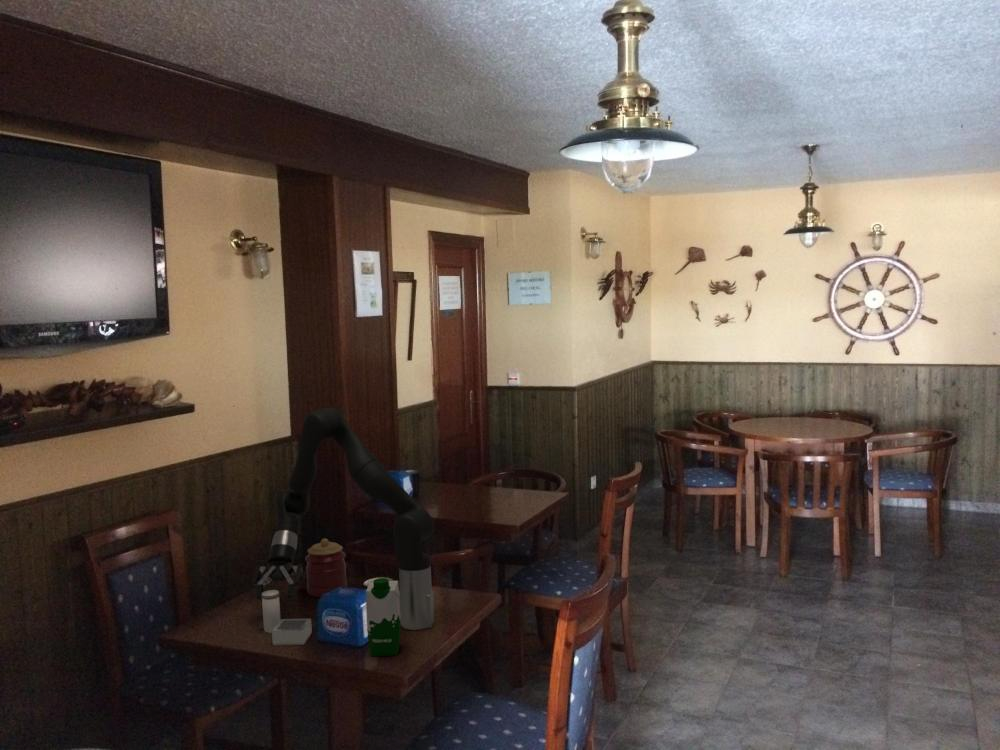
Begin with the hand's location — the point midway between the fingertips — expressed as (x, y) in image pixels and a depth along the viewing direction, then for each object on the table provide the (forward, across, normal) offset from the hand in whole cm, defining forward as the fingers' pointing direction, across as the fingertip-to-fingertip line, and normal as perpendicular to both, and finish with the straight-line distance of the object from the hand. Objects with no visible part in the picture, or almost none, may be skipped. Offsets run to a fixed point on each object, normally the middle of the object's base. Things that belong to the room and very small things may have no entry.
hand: (273, 598), depth 243 cm
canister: (-15, +8, +27) cm, 32 cm away
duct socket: (+13, +8, -1) cm, 15 cm away
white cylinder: (+8, 0, +4) cm, 9 cm away
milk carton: (+19, +36, -7) cm, 41 cm away
